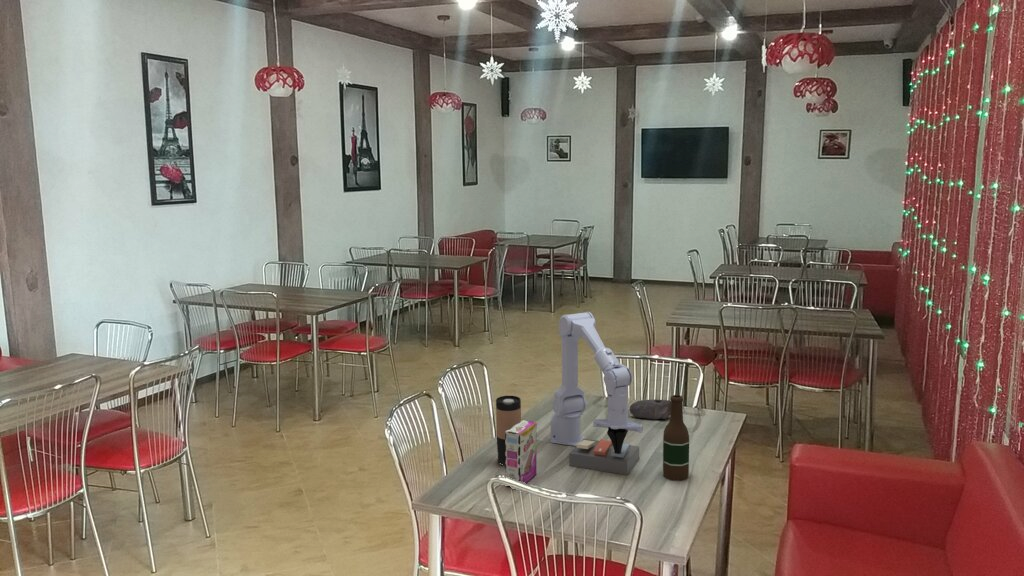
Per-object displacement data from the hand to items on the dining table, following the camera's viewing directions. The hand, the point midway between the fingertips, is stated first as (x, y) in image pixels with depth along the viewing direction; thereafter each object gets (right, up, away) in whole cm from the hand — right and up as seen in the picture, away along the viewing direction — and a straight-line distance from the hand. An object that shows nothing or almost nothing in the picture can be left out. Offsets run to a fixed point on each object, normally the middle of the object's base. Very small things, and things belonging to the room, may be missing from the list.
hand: (618, 452), depth 223 cm
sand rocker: (-9, 0, +8) cm, 12 cm away
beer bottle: (+16, -6, -3) cm, 18 cm away
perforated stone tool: (+18, +2, +45) cm, 49 cm away
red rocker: (-4, -1, +6) cm, 7 cm away
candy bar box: (-28, -7, -4) cm, 30 cm away
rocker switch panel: (-3, -5, +8) cm, 9 cm away
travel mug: (-32, -5, +9) cm, 34 cm away
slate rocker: (+1, -1, +3) cm, 4 cm away
